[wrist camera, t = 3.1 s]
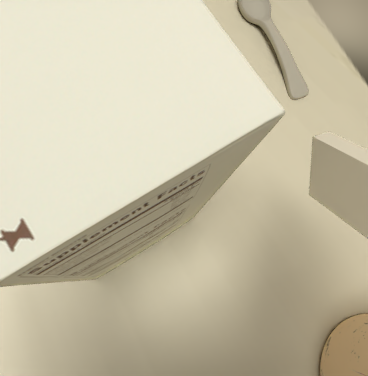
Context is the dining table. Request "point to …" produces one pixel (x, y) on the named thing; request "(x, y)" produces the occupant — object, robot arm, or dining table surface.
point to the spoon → (275, 45)
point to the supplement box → (115, 129)
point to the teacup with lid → (347, 349)
